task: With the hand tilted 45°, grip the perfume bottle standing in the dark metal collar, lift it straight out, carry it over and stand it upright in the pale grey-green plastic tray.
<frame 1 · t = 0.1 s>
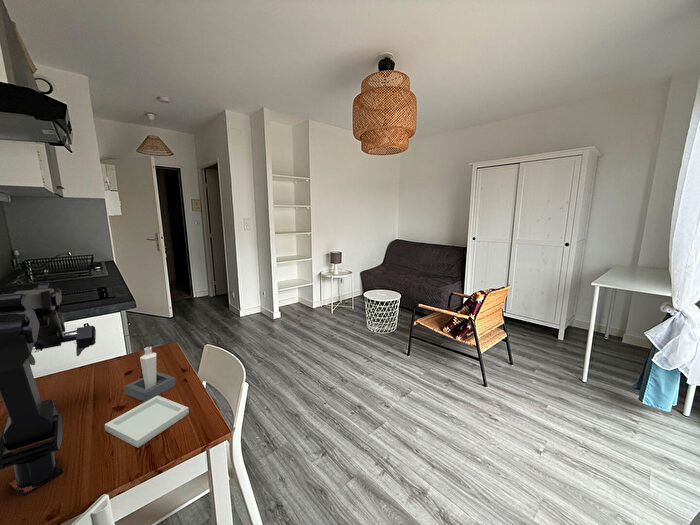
hand: (57, 359, 83), 15 cm above the table, tool tilted 35°, fingers open, 9 cm apart
bottle collar: (151, 389, 94), on the table
perfume bottle: (151, 390, 94), resting in bottle collar
tray: (149, 421, 79), on the table
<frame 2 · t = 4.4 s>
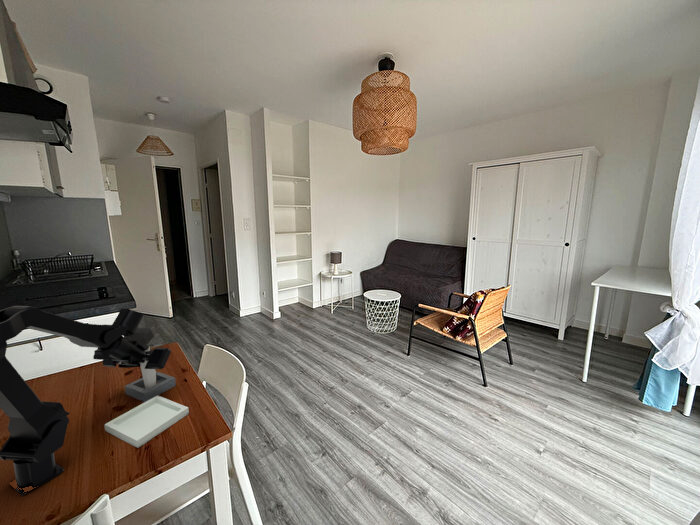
hand: (152, 365, 94), 8 cm above the table, tool tilted 45°, fingers closed on perfume bottle, 4 cm apart
perfume bottle: (151, 390, 94), resting in bottle collar, touching gripper
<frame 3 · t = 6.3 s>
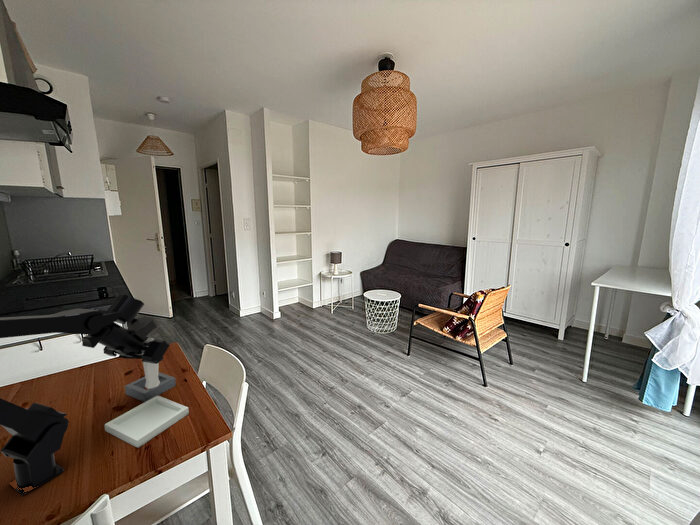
hand: (156, 358, 87), 14 cm above the table, tool tilted 45°, fingers closed on perfume bottle, 4 cm apart
perfume bottle: (152, 385, 87), point 5 cm above the table, touching gripper
when the fingers open (10 cm above the table, at t = 8.5 s): perfume bottle stays where it is, resting on tray.
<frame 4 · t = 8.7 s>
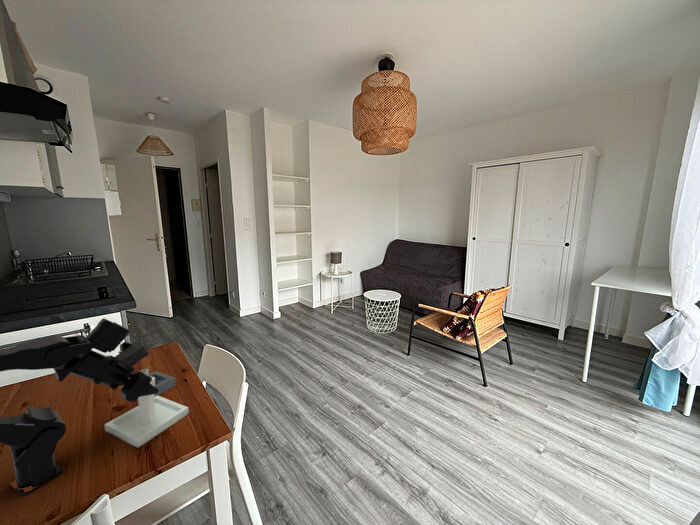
hand: (151, 387, 79), 10 cm above the table, tool tilted 45°, fingers open, 7 cm apart
perfume bottle: (147, 420, 79), resting on tray
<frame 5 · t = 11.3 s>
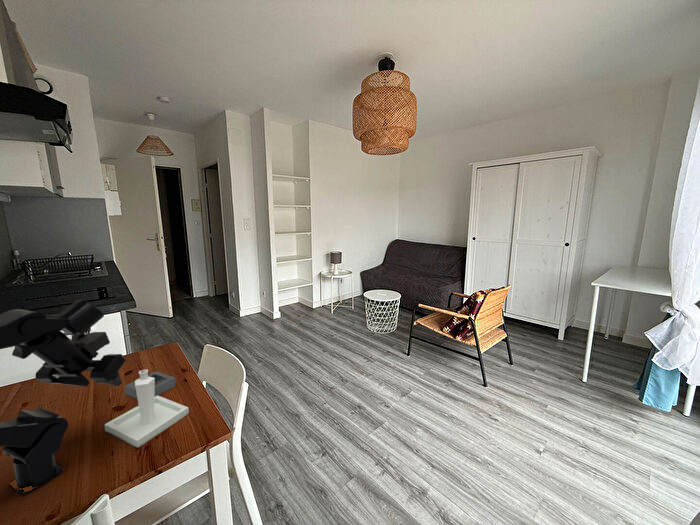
hand: (103, 384, 73), 14 cm above the table, tool tilted 30°, fingers open, 9 cm apart
nothing on the table moved.
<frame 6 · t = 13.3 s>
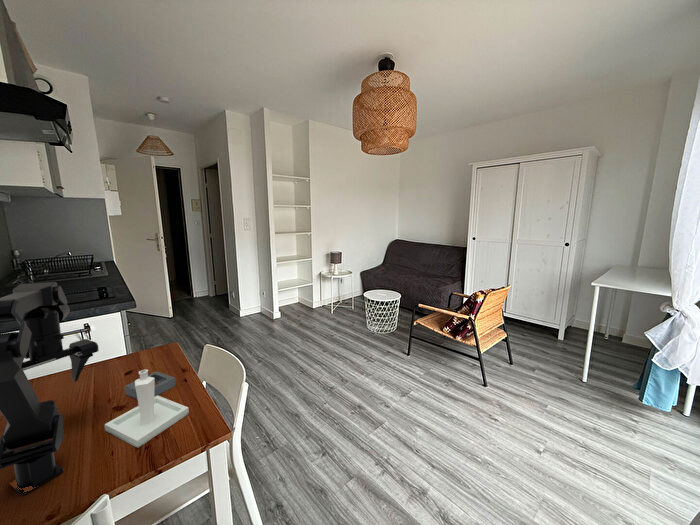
hand: (51, 390, 71), 13 cm above the table, tool pointing down, fingers open, 9 cm apart
nothing on the table moved.
at the end: perfume bottle inside the target area on the tray (0.3 cm from its centre), point 0.3 cm above the tray's base; perfume bottle tilted 0°; the gripper is holding nothing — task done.
